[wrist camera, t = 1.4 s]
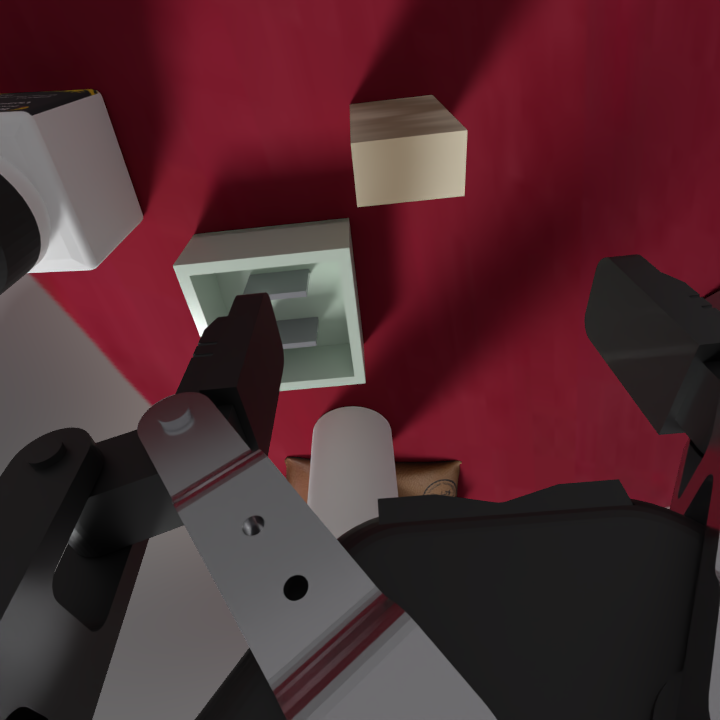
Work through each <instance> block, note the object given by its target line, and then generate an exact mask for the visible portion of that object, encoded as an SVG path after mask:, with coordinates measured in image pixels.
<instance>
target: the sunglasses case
mask: <svg viewBox="0 0 720 720" xmlns="http://www.w3.org/2000/svg"><path fill="white" fill-rule="evenodd" d="M285 463H286V466H287V475H286V476H287V478H286V479H287V481H288V482H289V483H290V484H291V485H292V487H293V488H294V489H295V490H296V491H297V493H298V494H299V495H300V496H301V497H302V499H303V500H304V501H305V502H306V503H307V501H308V489H309V476H310V463H311V459H305V458H301V457H287V458H286V459H285ZM460 464H461V461H455V460H454V461H438V462H395V470H396V480H397V489H398V497H406V496H419V495H431V494H438V495H445V496H452V497H457V485H458V477H459V468H460V467H459V465H460Z"/></svg>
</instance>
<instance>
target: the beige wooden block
mask: <svg viewBox="0 0 720 720" xmlns="http://www.w3.org/2000/svg"><path fill="white" fill-rule="evenodd" d="M350 133H351V150H352V160H353V170H354V180H355V189H356V199H357V207H364V206H373V205H383V204H392V203H402V202H411V201H420V200H430V199H439V198H449V197H458V196H464V193H465V171H466V149H467V129H466V128H465V127H464V126H463V125H462V124H461V123H460V122H459V121H458V120H457V119H456V118H455V117H454V116H453V115H452V114H451V113H450V112H449V111H448V110H447V109H446V108H445V107H444V106H443V105H442V104H441V103H440V102H439V101H438V100H437V99H436V98H435V97H434V96H433V95H426V96H418V97H409V98H401V99H392V100H384V101H375V102H366V103H358V104H350Z"/></svg>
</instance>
